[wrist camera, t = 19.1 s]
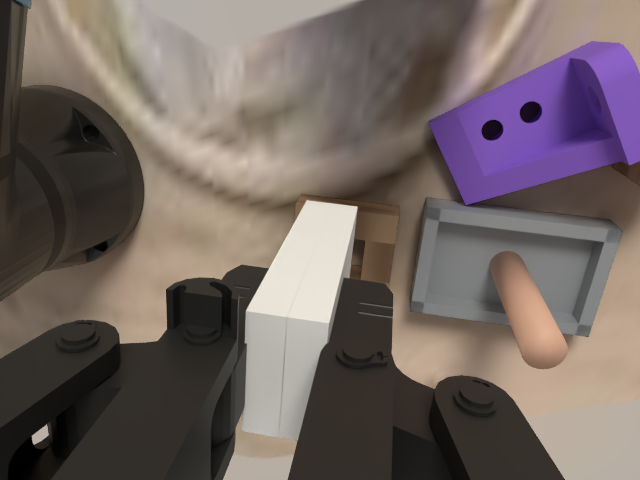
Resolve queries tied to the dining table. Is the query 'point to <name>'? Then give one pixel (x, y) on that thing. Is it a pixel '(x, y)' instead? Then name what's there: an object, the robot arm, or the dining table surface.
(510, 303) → the dowel
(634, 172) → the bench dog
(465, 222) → the tray
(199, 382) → the robot arm
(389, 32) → the dining table surface
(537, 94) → the bracket
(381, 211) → the dowel block
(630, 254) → the dining table surface
